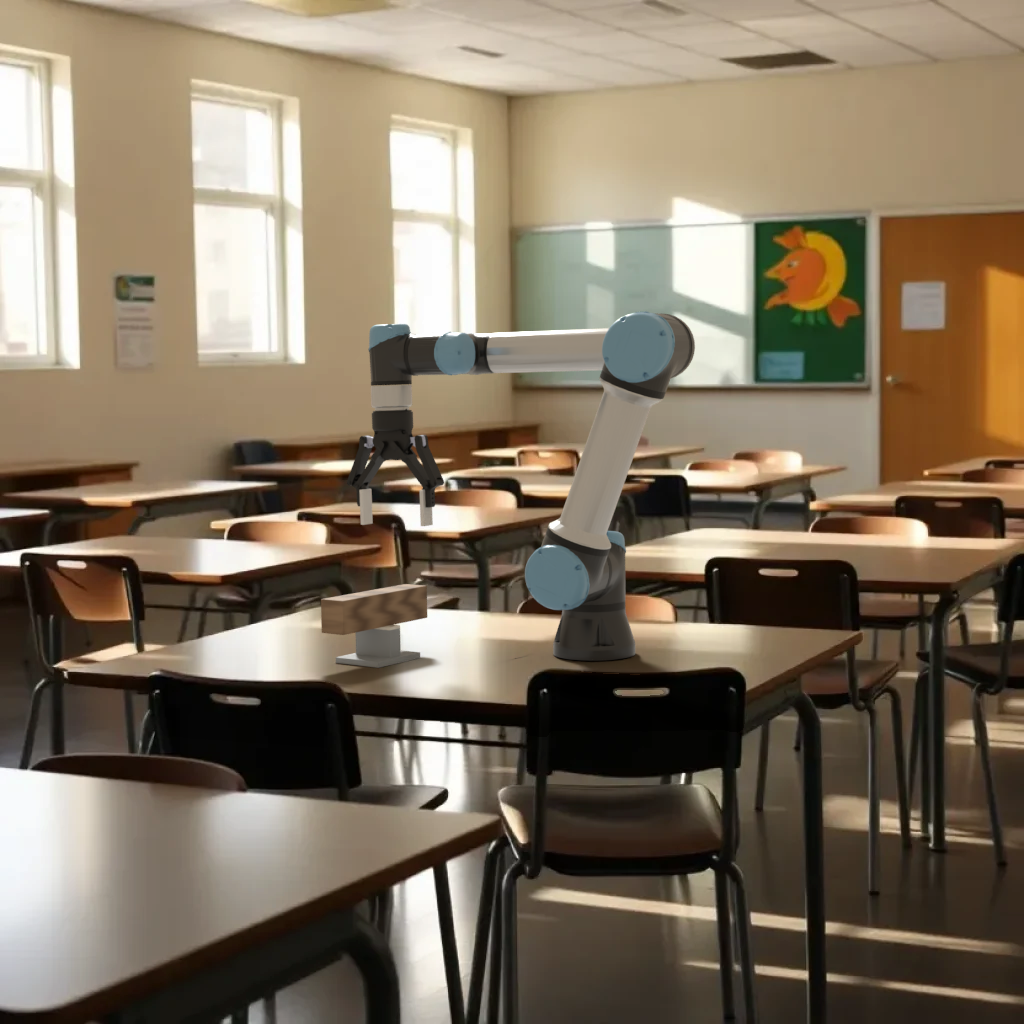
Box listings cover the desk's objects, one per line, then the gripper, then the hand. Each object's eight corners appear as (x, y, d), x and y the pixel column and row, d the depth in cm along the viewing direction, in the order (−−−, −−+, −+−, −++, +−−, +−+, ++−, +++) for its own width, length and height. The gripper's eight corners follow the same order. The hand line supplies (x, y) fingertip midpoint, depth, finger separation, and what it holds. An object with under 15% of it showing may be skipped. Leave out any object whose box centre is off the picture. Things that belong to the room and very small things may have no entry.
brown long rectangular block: (406, 615, 325) (405, 584, 325) (427, 617, 322) (426, 585, 322) (321, 632, 306) (320, 599, 305) (343, 635, 303) (342, 601, 302)
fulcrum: (420, 657, 317) (419, 622, 316) (378, 667, 307) (377, 631, 306) (378, 653, 322) (377, 618, 322) (335, 662, 313) (334, 627, 312)
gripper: (460, 407, 312) (464, 524, 314) (350, 409, 326) (354, 521, 327) (436, 408, 306) (440, 528, 308) (325, 410, 319) (330, 525, 321)
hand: (396, 525), depth 318 cm, fingers open, 13 cm apart
